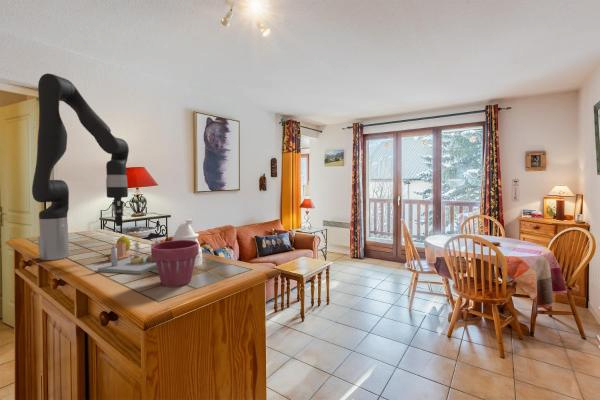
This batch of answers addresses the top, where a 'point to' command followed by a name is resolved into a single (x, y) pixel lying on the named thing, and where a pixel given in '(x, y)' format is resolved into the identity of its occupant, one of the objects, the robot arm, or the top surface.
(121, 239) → the lemon
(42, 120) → the robot arm
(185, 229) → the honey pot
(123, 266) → the carrier
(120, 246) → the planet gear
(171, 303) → the top surface
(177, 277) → the plant pot
